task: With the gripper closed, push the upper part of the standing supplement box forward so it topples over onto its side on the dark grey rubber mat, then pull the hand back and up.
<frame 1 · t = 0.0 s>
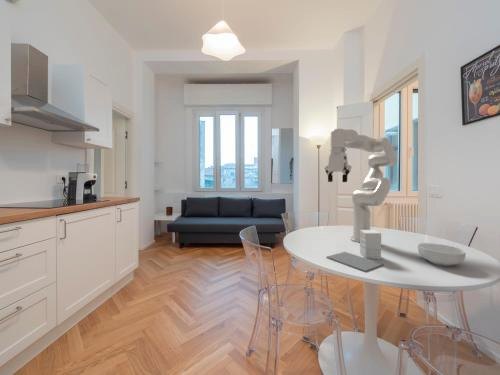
hand: (337, 181, 131), 37 cm above the table, tool pointing down, fingers open, 9 cm apart
supplement box: (369, 256, 115), on the table
cereal bowl: (440, 263, 106), on the table
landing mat: (353, 261, 108), on the table
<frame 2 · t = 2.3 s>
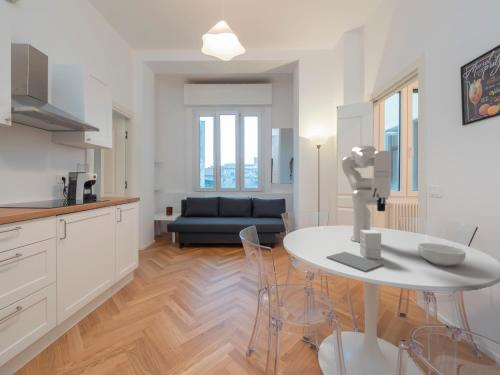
hand: (381, 211, 119), 22 cm above the table, tool pointing down, fingers closed
nothing on the table moved.
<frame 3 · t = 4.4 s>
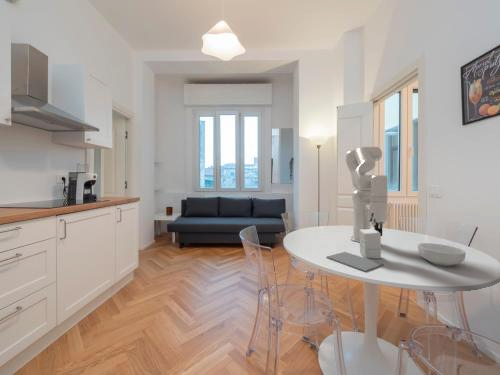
hand: (378, 235, 117), 10 cm above the table, tool pointing down, fingers closed
supplement box: (370, 256, 115), on the table, touching gripper
everything else where it was.
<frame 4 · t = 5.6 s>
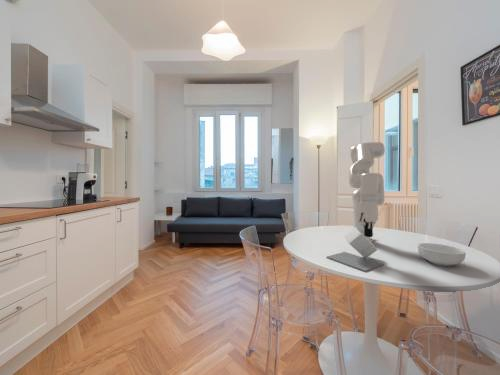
hand: (368, 236, 112), 11 cm above the table, tool pointing down, fingers closed
supplement box: (368, 250, 114), point 3 cm above the table, touching gripper
everything else where it was.
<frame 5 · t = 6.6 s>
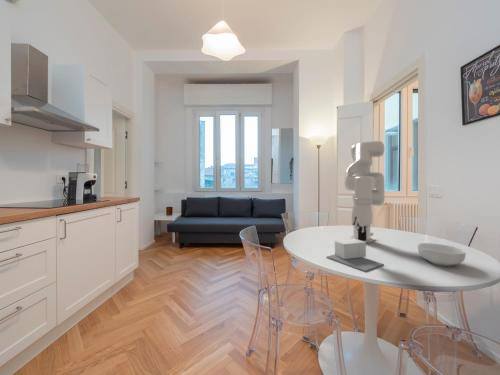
hand: (362, 240, 111), 9 cm above the table, tool pointing down, fingers closed
supplement box: (361, 247, 115), point 4 cm above the table, touching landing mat
everything else where it was.
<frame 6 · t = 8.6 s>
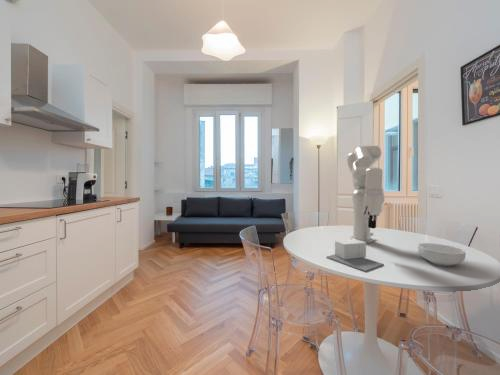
hand: (372, 227, 119), 13 cm above the table, tool pointing down, fingers closed
nothing on the table moved.
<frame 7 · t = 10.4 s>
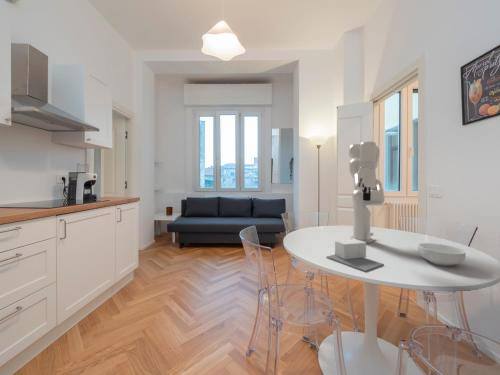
hand: (366, 200, 122), 27 cm above the table, tool pointing down, fingers closed
nothing on the table moved.
at the end: supplement box tilted 89°; supplement box touching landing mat; supplement box inside the target area (3.1 cm from its centre), point 4.1 cm above the table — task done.
